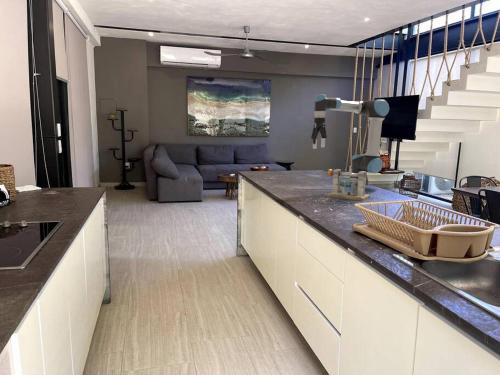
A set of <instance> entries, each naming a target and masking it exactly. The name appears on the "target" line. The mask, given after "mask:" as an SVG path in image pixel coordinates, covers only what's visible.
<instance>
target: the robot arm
mask: <svg viewBox="0 0 500 375" xmlns="http://www.w3.org/2000/svg"><path fill="white" fill-rule="evenodd" d="M326 110H328V111H336V112H338V111H339V112H349V113H355V114H357V115H362V116H368V117H367V118H368V119H369V128H368V137H367V147H366V152H365V153H364V154H353V155H352V157H351V172H350V173H359V172H360V171H366V184H365V186H366V185H367V186H368V185H369V179H368V174H367V173H369V174H377V173H379V172H380V171H382V168H383V161H382V159H381V155H380V152H379V151H380V144H381V142H380V141H381V136H382V135H381V134H382V126H383V125H382V124H383V121H384V120H385V118H386V116H387V115H388V113H389V112H390V106H389V103H388V101H387V100H385V99H371V100H363V101H362V100H356V101H349V100H348V101H347V100H341V98H340V97H327V95H326V94H323V93H322V94H315V95H314V112H313V114H314V115H313V116H314V118H313V119H314V121H313V122H314V124H313V129H312V133H311V136H310V139H311V140H312V150H313V149H314V150H317V149H318V148H317V147H318V139H317V138H318V135H319V133H320V136H321V138H320V148H325V147H326V139H327V138H328V137H327V136H328V135H327V130H326V115H327V114H326ZM349 178H356V179H358V177H351V176H349Z"/></svg>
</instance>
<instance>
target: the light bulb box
mask: <svg viewBox="0 0 500 375" xmlns="http://www.w3.org/2000/svg"><path fill="white" fill-rule="evenodd" d="M339 194H341V195H343V196H350V195H358V179H356V178H350V177H343V178H342V177H341V178H340V191H339Z"/></svg>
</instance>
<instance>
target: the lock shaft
mask: <svg viewBox="0 0 500 375" xmlns="http://www.w3.org/2000/svg"><path fill="white" fill-rule="evenodd" d="M333 172H334V169H332V168H328V169H327V173H326V176H327V177H330V178H333ZM338 175H340V176H341V177H350V176H351V177H358V176H359V173H351V172H345V171H344V172H343V171H341V172H338Z"/></svg>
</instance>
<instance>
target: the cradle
mask: <svg viewBox="0 0 500 375" xmlns="http://www.w3.org/2000/svg"><path fill="white" fill-rule="evenodd" d="M333 171H334V172H333V175H332V181H333V182H332V192H329V193H327V195H326V196H327V198H336V199H344V200H350V201H351V200H352V201H361V202H364V201H366V200H367V199H369V198H371V196H370V195H371V194H366V185H365V184H366V171H360V172H359V176H358V195H350V196H343V195H341V194H339V191H340V178H342V176H340V175H338V172H342V169H339V168H338V169H337V168H336V169H333Z"/></svg>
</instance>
